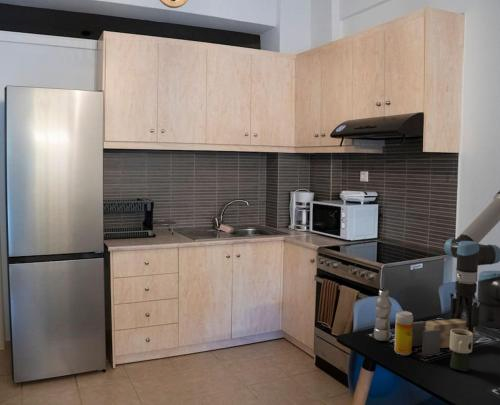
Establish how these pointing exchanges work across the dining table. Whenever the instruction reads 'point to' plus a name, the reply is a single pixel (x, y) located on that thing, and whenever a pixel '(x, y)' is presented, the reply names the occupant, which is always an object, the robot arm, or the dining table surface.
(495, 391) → the dining table surface
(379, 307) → the plastic bottle
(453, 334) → the character mug
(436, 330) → the chute
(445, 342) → the tan wooden block
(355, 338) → the dining table surface
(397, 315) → the beer can
